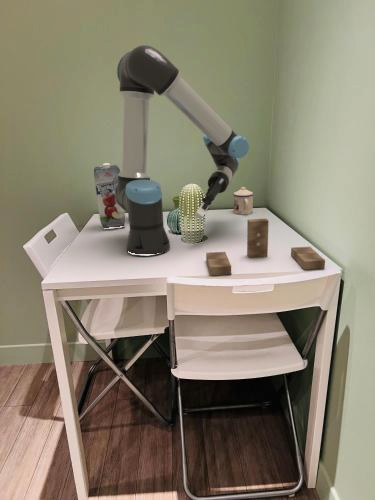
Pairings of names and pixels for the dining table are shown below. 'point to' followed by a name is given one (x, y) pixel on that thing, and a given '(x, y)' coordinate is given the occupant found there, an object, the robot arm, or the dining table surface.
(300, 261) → the tile
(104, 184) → the juice carton
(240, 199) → the teacup with lid
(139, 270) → the dining table surface
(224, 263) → the tile
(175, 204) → the plant pot
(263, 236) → the tile
